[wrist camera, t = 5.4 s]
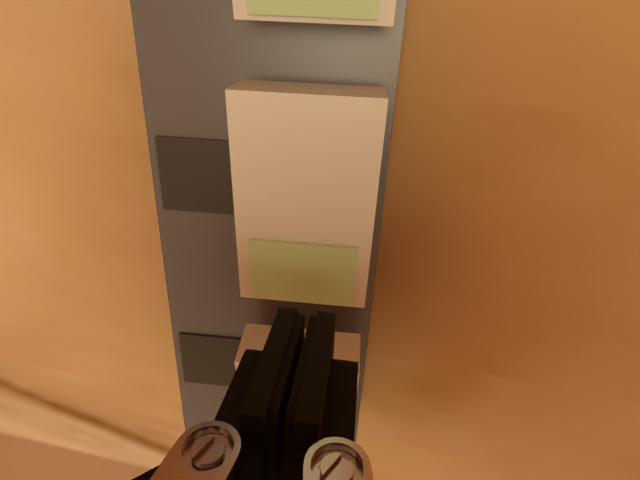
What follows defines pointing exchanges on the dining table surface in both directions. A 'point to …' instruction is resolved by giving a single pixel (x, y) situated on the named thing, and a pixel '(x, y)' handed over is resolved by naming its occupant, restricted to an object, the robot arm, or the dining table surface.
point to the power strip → (215, 168)
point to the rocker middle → (305, 187)
